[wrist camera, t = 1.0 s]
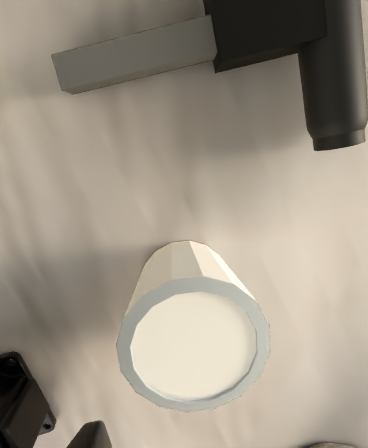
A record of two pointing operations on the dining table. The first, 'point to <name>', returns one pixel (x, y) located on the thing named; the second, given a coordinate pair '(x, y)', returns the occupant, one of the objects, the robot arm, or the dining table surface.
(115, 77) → the door handle
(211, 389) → the white cup
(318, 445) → the spray can
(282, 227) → the dining table surface
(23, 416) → the robot arm
